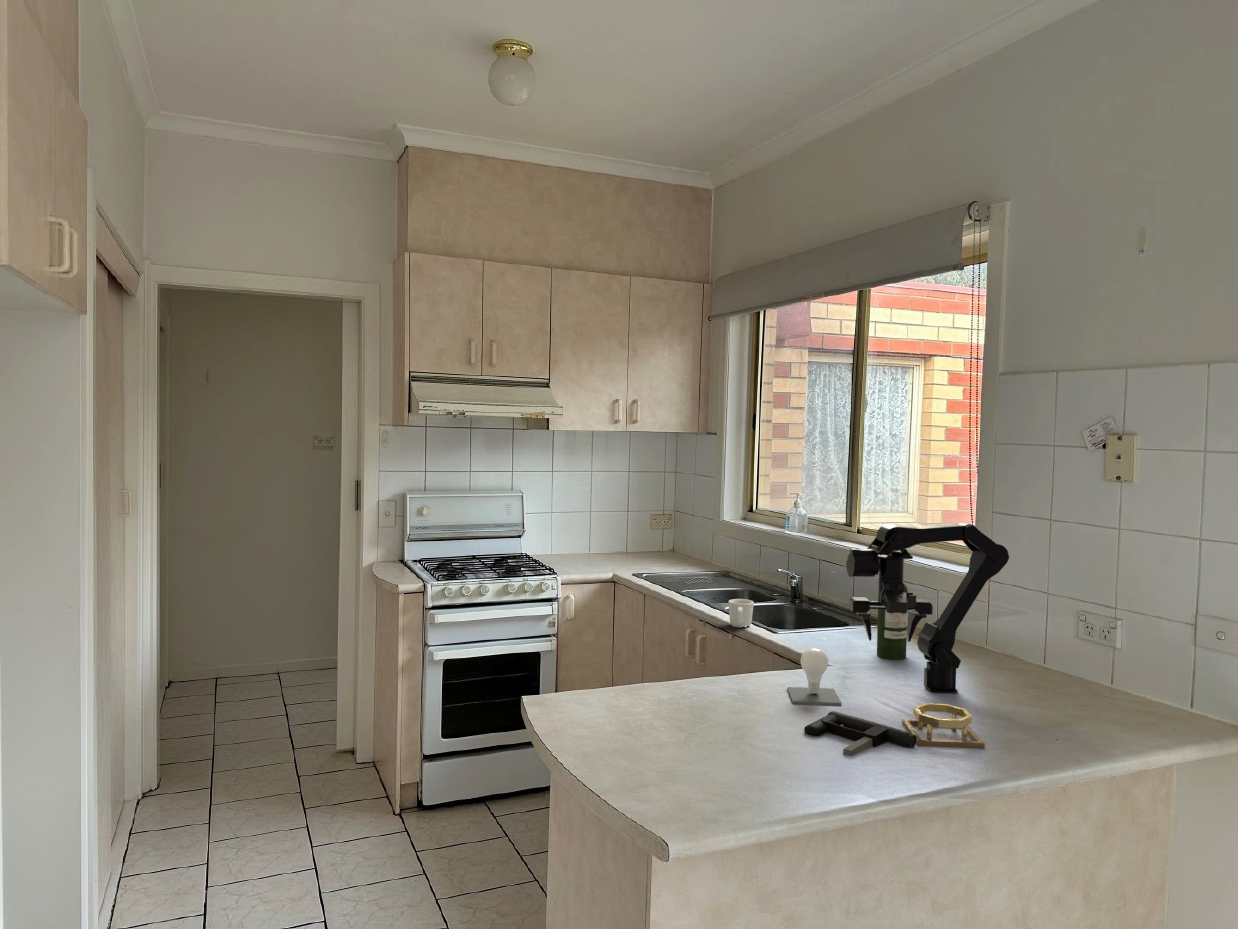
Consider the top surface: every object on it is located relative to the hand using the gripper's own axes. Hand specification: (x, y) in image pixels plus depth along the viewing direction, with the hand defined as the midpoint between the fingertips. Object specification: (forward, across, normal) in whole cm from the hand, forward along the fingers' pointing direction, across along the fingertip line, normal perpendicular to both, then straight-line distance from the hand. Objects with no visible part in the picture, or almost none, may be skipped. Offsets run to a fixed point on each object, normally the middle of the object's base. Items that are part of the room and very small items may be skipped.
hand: (889, 640), depth 213 cm
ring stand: (+12, +4, -31) cm, 33 cm away
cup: (+12, -32, +62) cm, 71 cm away
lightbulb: (+12, -19, -8) cm, 24 cm away
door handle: (+13, -15, -36) cm, 41 cm away
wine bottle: (+12, +8, +32) cm, 35 cm away
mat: (+12, -19, -8) cm, 24 cm away
